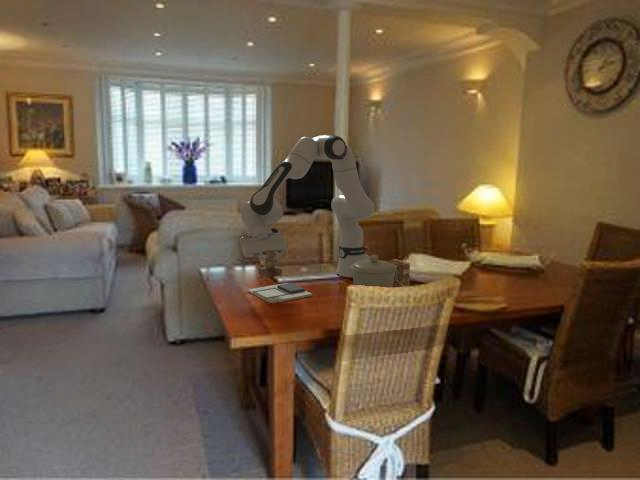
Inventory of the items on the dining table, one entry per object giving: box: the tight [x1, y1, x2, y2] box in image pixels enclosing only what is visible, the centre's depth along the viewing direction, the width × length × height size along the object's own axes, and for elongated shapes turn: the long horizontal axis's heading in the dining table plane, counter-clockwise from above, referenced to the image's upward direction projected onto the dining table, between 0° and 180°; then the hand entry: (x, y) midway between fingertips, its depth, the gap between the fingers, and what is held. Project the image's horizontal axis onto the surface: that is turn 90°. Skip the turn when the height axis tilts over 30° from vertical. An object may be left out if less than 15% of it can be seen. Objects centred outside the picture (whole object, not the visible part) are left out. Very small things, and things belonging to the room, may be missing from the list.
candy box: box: [389, 258, 411, 287], centre depth 224 cm, size 9×4×15 cm, turn 33°
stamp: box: [258, 251, 283, 278], centre depth 221 cm, size 7×7×10 cm
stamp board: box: [247, 282, 313, 304], centre depth 226 cm, size 20×20×2 cm
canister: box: [351, 254, 397, 287], centre depth 209 cm, size 18×18×21 cm
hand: (271, 262), depth 220 cm, fingers closed on stamp, 4 cm apart
